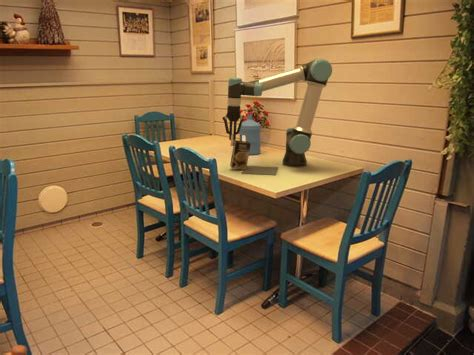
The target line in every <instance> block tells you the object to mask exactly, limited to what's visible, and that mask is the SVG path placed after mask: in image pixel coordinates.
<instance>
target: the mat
mask: <svg viewBox="0 0 474 355" xmlns="http://www.w3.org/2000/svg"><path fill="white" fill-rule="evenodd" d="M278 170H279V167H278V166H263V165H261V166H260V165H258V166H257V165H247V168H246V170H243V169H242V171H241V175H259V176H261V175H262V176H277V173H278Z"/></svg>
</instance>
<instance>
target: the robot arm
mask: <svg viewBox="0 0 474 355" xmlns="http://www.w3.org/2000/svg"><path fill="white" fill-rule="evenodd" d="M332 74H333V67H332V64H331V63H330V61H329V60H327V59H323V58H318V59H317V58H316V59H313V60H311V61H309V62H307V63H304V64H302V65H299V67H297V68H294V69H290V70H287V71H286V70H285V71H283V72H279V73H276V74H272V75H270V76H266V77H263V78H260V79H259V78H258V79H255V80H251V81H243V79H242V78H241V77H229V79H228V84H227V86H228V87H227V107H226V108H227V110H226V111H227V112H226V114H225V116H223V117H222V120H223V122H224V123H223V124H224V128H225V133H226V134H228V136H229V138H228V139H229V141H230V147H233V145H234V140H237V138H236V136H237V135H240V134H239V132H240V128H241V125H242V123H243V122H245V121H244V120H245V118H244V117H242V115H241V102H242V96H250V97H251V96H252V97H261V96H262V95H263V92H266V91H269V90H273V89H275V88H280V87H284V86H287V85H290V84H293V83H294V84H295V83H298V82H306V84H307V87H306V91H305V93H304V96H303V100H302V104H301V107H300V112H299V114H298V118H297V121H296V125H295V126H293V127H291V128H289V127H288V128H287V129H286V133H285V134H286V137H285V138H286V140H285V153H284V155H283V159H282V165H283V166H285V167H291V168H300V167H305V166H307V162H308V161H307V157H306V152H308V151H309V149H310V148H311V145H312V144H311V139H312V135H313V132H312V125H313V122H314V119H315V115H316V112H317V109H318V105H319V102H320V98H321V94H322V91H323V89H324V88H325V87H327V84H328V80H329V78H331V76H332ZM228 121H229V123H228ZM238 121H239V124H238ZM237 124H238V125H237ZM237 126H238V127H237Z"/></svg>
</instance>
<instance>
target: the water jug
mask: <svg viewBox="0 0 474 355" xmlns="http://www.w3.org/2000/svg"><path fill="white" fill-rule="evenodd" d="M261 130H262V125H261V123H259V122H257V121H255V120H253V114H252V113H248V114H247V119H246V120H245V121H243V122H242V125H241V128H240V132H239V134H238V135H239V141H243V136H244V137H245V141H246V142H249V143H250V144H251V145H250V151H249V156H256V155H259V154H261V140H262V138H261V137H262V136H261Z"/></svg>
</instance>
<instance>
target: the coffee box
mask: <svg viewBox="0 0 474 355" xmlns="http://www.w3.org/2000/svg"><path fill="white" fill-rule="evenodd" d="M250 145H251V144H250V143H249V142H246V141H244V140H242V141H240V140H237V139H236V140H234V145H233V146H232V151H231V158H230V164H229V167H230V168H231V169H233V170H234V169H235V170H236V169H237V170H242V171H243V170H246V168H247V166H248V163H249V162H248V160H249V156H250V155H249V151H250Z"/></svg>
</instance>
